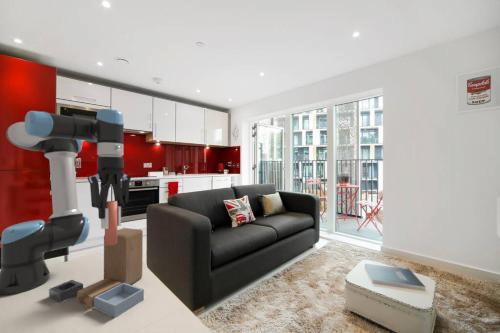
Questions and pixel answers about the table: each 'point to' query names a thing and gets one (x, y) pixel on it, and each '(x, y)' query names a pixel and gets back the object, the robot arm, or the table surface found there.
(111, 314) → the tray
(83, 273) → the table surface
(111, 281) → the cardboard box
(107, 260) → the wooden block
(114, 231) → the dowel
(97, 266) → the table surface
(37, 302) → the table surface
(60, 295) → the socket
